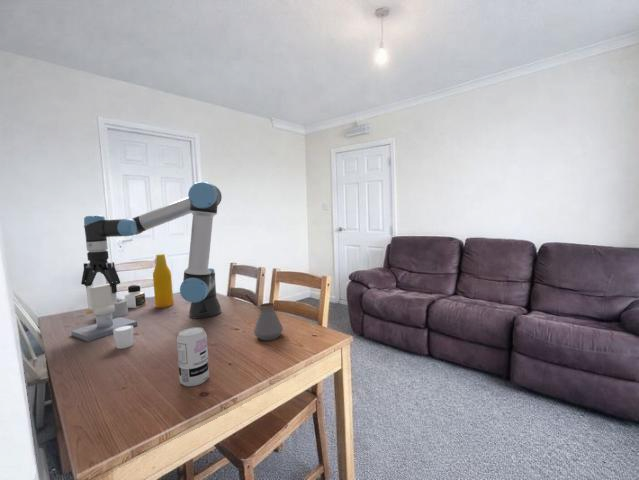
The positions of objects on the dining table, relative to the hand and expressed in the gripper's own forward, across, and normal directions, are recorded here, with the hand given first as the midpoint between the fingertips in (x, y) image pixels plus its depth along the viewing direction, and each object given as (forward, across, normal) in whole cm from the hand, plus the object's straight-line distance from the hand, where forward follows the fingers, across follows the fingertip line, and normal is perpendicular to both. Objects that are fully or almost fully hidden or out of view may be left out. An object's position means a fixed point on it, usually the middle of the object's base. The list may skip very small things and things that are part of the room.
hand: (102, 300), depth 140 cm
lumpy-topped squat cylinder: (+14, -15, +19) cm, 28 cm away
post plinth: (+14, 0, 0) cm, 14 cm away
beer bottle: (+14, +1, +38) cm, 41 cm away
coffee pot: (+14, +73, +3) cm, 74 cm away
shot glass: (+14, +23, -14) cm, 30 cm away
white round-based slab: (+5, 0, -1) cm, 6 cm away
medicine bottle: (+14, -16, +36) cm, 42 cm away
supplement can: (+14, +67, -34) cm, 76 cm away
